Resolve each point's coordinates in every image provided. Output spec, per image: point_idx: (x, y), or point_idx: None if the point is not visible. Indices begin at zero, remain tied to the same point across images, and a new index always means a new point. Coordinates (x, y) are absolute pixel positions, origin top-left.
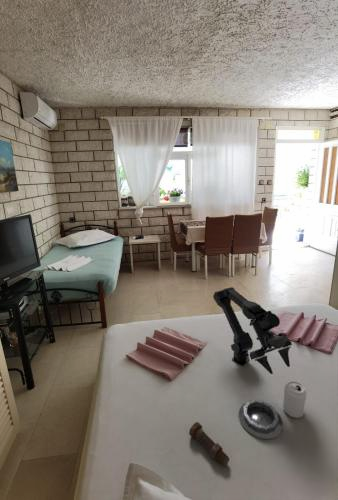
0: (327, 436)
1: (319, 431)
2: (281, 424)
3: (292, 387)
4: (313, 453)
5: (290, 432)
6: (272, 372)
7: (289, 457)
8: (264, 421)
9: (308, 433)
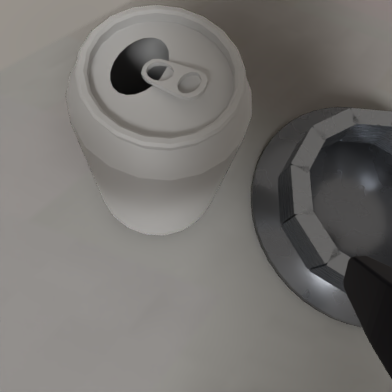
0: None
1: None
2: (278, 140)
3: (202, 74)
4: (230, 14)
5: (257, 103)
6: (361, 262)
7: (328, 38)
8: (351, 183)
9: None
